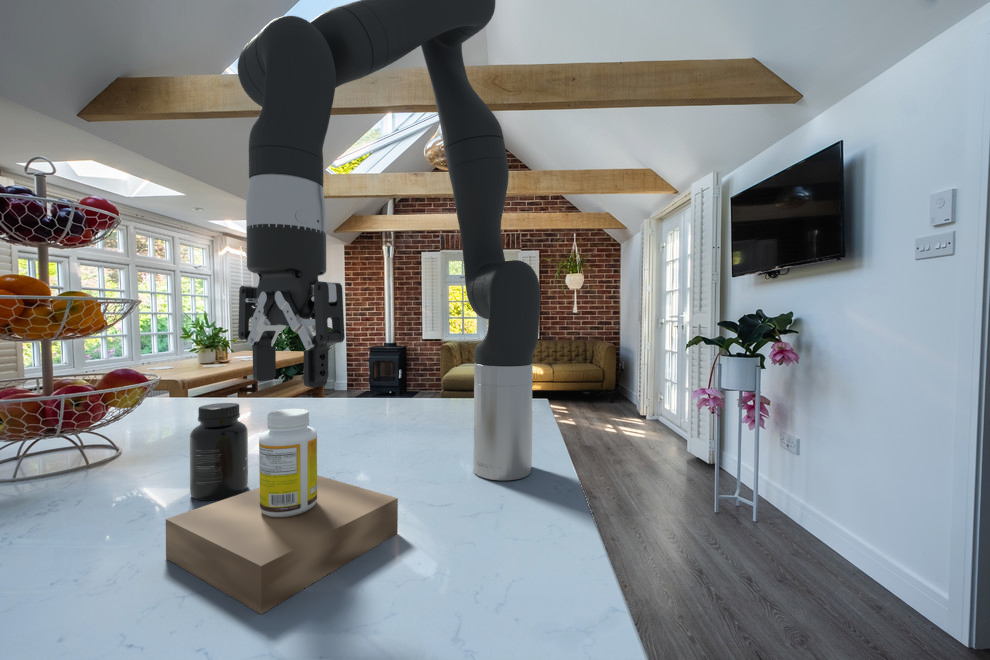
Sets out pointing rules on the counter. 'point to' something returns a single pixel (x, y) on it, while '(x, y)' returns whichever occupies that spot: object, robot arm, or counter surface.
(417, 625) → the counter surface
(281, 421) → the supplement bottle
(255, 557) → the walnut block
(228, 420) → the supplement bottle
